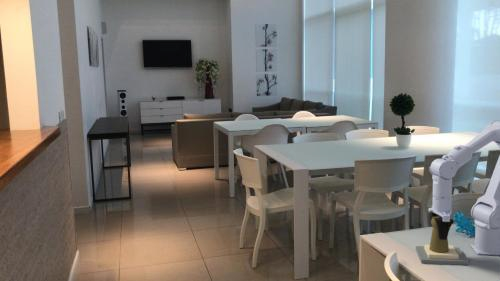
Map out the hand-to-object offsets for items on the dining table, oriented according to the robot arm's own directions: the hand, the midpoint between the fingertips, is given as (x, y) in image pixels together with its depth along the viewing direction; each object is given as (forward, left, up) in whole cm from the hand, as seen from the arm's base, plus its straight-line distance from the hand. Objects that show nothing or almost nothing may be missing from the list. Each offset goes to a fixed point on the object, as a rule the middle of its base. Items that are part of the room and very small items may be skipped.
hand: (441, 236), depth 156 cm
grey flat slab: (0, 0, -7) cm, 7 cm away
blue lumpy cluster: (-14, -25, -7) cm, 29 cm away
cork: (+1, 0, -5) cm, 5 cm away
